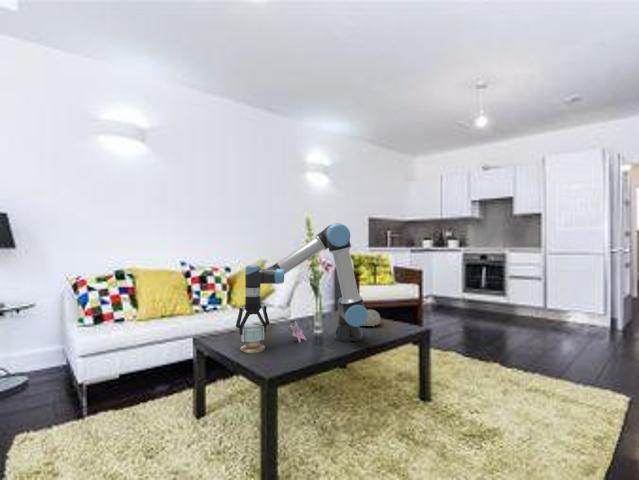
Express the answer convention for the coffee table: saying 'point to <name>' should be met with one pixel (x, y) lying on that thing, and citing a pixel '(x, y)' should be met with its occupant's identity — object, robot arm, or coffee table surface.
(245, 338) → the cap
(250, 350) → the stud pedestal
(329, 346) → the coffee table surface
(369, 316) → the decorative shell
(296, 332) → the lily
